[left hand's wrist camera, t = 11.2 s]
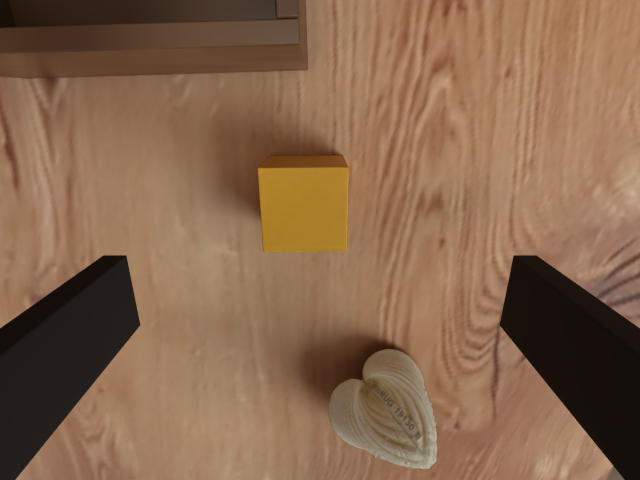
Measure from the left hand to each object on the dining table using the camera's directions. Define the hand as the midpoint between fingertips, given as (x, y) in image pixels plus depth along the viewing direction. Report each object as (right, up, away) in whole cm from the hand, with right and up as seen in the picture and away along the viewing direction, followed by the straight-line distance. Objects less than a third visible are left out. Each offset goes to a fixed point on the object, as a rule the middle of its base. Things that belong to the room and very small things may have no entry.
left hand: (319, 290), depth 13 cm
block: (-1, +5, +12) cm, 13 cm away
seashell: (+5, -11, +18) cm, 21 cm away
